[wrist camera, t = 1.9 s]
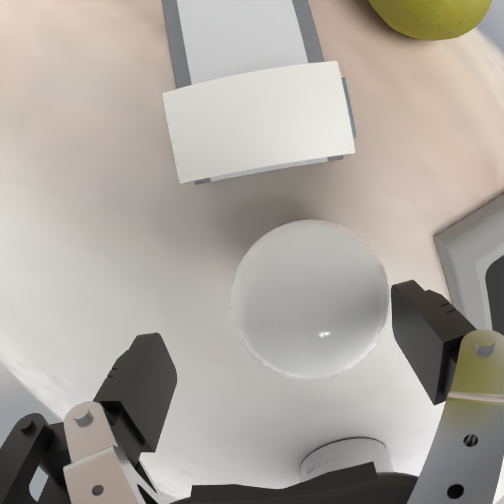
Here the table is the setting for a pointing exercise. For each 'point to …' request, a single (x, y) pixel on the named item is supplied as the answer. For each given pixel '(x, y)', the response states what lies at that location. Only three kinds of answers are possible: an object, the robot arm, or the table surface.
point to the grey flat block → (476, 265)
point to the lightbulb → (310, 299)
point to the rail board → (239, 45)
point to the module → (259, 120)
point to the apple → (431, 16)
